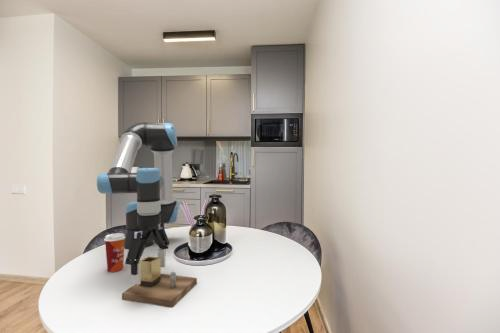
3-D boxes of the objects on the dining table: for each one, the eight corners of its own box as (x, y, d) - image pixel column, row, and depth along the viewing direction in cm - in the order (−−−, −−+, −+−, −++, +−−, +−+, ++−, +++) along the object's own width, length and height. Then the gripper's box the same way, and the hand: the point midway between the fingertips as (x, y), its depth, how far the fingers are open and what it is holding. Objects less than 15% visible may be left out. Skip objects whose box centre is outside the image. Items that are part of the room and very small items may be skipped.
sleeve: (148, 278, 93) (148, 256, 92) (160, 280, 91) (160, 257, 91) (138, 285, 88) (138, 261, 88) (151, 286, 86) (151, 262, 86)
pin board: (153, 277, 99) (153, 259, 98) (196, 283, 94) (196, 264, 94) (121, 299, 83) (121, 277, 83) (171, 307, 78) (171, 284, 78)
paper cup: (117, 274, 102) (116, 238, 102) (100, 272, 104) (99, 237, 104) (130, 266, 110) (129, 233, 110) (114, 264, 111) (113, 232, 111)
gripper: (161, 206, 102) (161, 260, 103) (111, 220, 78) (112, 290, 79) (178, 207, 100) (178, 262, 101) (132, 222, 76) (133, 294, 77)
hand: (149, 274), depth 90 cm, fingers open, 13 cm apart
